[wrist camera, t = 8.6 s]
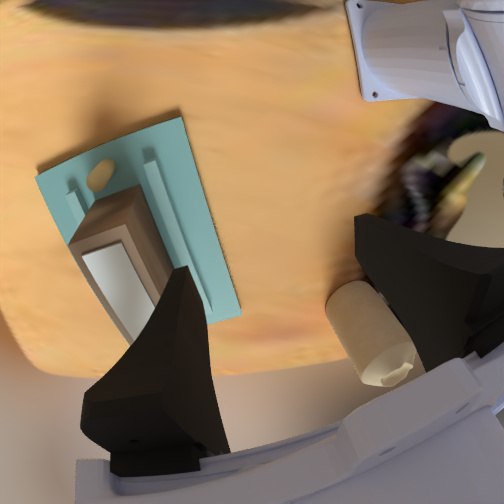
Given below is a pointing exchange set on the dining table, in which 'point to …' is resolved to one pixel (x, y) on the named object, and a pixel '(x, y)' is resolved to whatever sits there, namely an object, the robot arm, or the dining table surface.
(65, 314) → the dining table surface
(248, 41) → the dining table surface
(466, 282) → the robot arm
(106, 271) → the walnut frame
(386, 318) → the candle
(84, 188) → the light blue peg board
